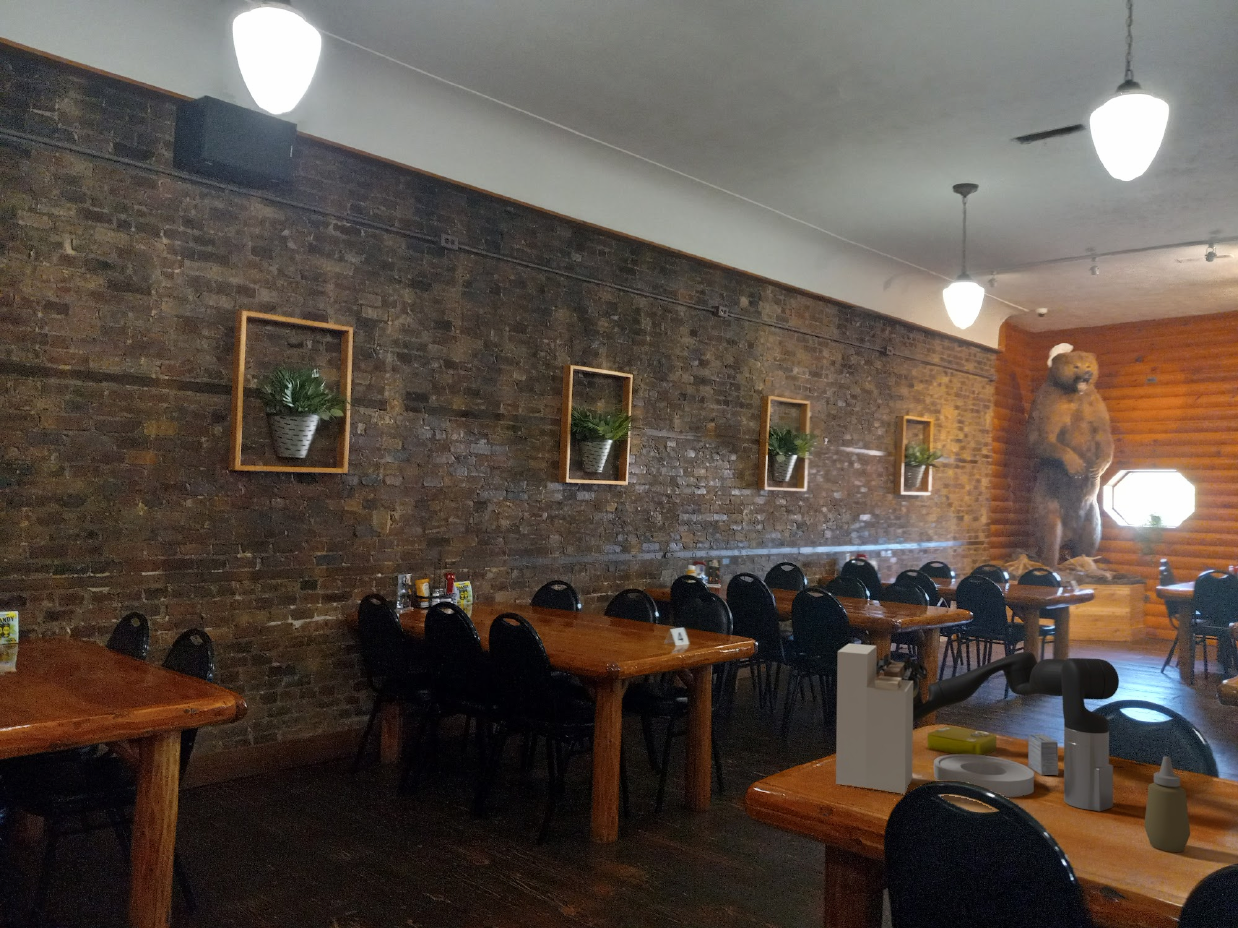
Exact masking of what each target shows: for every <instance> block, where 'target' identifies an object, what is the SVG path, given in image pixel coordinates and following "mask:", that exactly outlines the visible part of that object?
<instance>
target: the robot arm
mask: <svg viewBox="0 0 1238 928" xmlns="http://www.w3.org/2000/svg"><path fill="white" fill-rule="evenodd" d="M890 656H891V655H890V654H889V653H885V654H884V655H883V658H881V657H880V658H878V659H877V661H876V676H877V675H878V676H879V674H884V671H885V670H886V669H887V667H888V666H889V665H890V664H891V663H892V662H895V661H894V660H892V659H891V657H890ZM903 663H905V667H906V669H905V676H904V677H903V678H902V680H908V681H913V723H916V722H920V721H921V720H922V719H924V718H925V717H927V716H929V715H930V714H932V713H934V712H936V711H938V710H939V709H941V708H942V709H943V708H945V707H949V706H952V705H956V704H959V703H963V702H964V701H965V702H966V700H968V699H970V698H972V696H973V695H974V694H976V692H977V690H978V689H979V688H981V686H982V685H983V684H984V683H985V682H986V681H987V680H988V679H989V678H990V677H992V676H993V675H995V674H997V673H999V672H1003V674H1004V677H1005V680H1006V682H1007V685H1008V687H1009V690H1010V691H1011V692H1012V693H1013V694H1015V695H1020V696H1027V695H1028V696H1029V695H1047V696H1051V697H1052V696H1053V697H1061V698H1062V699H1061V700H1062V714H1063V722H1064V723H1063V726H1064V727H1063V729H1064V730H1063V731H1064V733H1063V757H1064V758H1063V763H1064V764H1063V786H1064V787H1063V794H1064V795H1063V800H1064V801H1063V802H1064V803H1066V805H1069V806H1071V807H1074V808H1078V809H1084V810H1089V811H1090V810H1091V811H1096V812H1102V811H1106V810H1109V809H1110V808H1111V809H1112V808H1113V807H1114V765H1112V764H1110V753H1109V752H1110V746H1109V745H1110V722H1109V719H1108V718H1107V717H1105V715H1102V714H1099V713H1097V712H1094V711H1091V710H1089V709H1088V708H1086V705H1085V700H1097V701H1098V700H1102V701H1103V700H1109V699H1111V698H1112V697H1113V696H1114V695H1115V694H1116V693H1117V691H1118V689H1119V685H1120V679H1119V677H1120V676H1119V674H1118V671H1117V670H1116V667H1114V666H1113V664H1112V663H1110V662H1109V661H1108V660H1104V659H1101V658H1087V657H1086V658H1084V657H1081V658H1080V657H1070V658H1067V659H1061V658H1060V659H1059V658H1045V659H1041V660H1039V661H1037V659H1036V656H1035V654H1034V653H1032V652H1031V651H1021V652H1016V653H1013V654H1010V655H1007V656H1004V657H1001V658H998V659H996V660H994V661H991V662H988V663H986V664H984V665H981V666H978V667H976V668H974V669H971V670H969V671H967V672H964V673H962V674H959V675H955V676H953V677H949V678H945V679H941V680H939V681H934V682H932V683H930V684H929V685H928V686H927V691H928V699H927V700H926V701H925V702H923V699H922V696H921V694H920V693H921V691H920V686H919V682H920V681H919V679H918V678H921V679H923V680H927V679H928V668H926V667H925V666H924V665H923V664H922V663H921V662H920V661H915V662H913V660H912V657H909V655H907V654H905V655H904V662H903Z"/></svg>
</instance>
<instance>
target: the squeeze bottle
mask: <svg viewBox="0 0 1238 928" xmlns="http://www.w3.org/2000/svg"><path fill="white" fill-rule="evenodd" d="M1173 768H1174V767H1173V765H1172V760H1171V757H1170V756H1165V755H1164V756H1163V757H1162V760H1161V766H1160V768H1159V771H1157V772H1154V773H1153V782H1152V783H1150V784H1148V790H1147V791H1148V792H1147V798H1146V799H1147V800H1146V807H1145V816H1144V826H1143V827H1144V829H1145V830H1144V831H1145V832H1146V836H1147V838H1148V841H1149V844H1150V845H1151V847H1154V848H1155V849H1157V850H1161V851H1165V852H1170V853H1173V852H1174V853H1181V852H1184V851H1185V849H1186V846H1187V844H1188V841H1189V838H1190V836H1191V828H1190V821H1189V817H1190V816H1189V812H1188V811H1189V809H1188V802H1187V792H1186V790H1185V789H1184V788H1183V787H1181V777H1180V776H1179V775H1177V774H1175V773H1174V769H1173Z"/></svg>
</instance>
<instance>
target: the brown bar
mask: <svg viewBox="0 0 1238 928" xmlns="http://www.w3.org/2000/svg"><path fill="white" fill-rule="evenodd" d="M905 669H906V667H905V663H904V662H903V661H902V662H901V661H894V662H892V663H891V664H890V665H889V666H888V667H887V669H886V670H885V671H884V673H883V675H878V677H877V679H876V680H875V689H882V690H891V691H898V689H899V688H900V687H901V685H902V678H903V677H904V676H905Z"/></svg>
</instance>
